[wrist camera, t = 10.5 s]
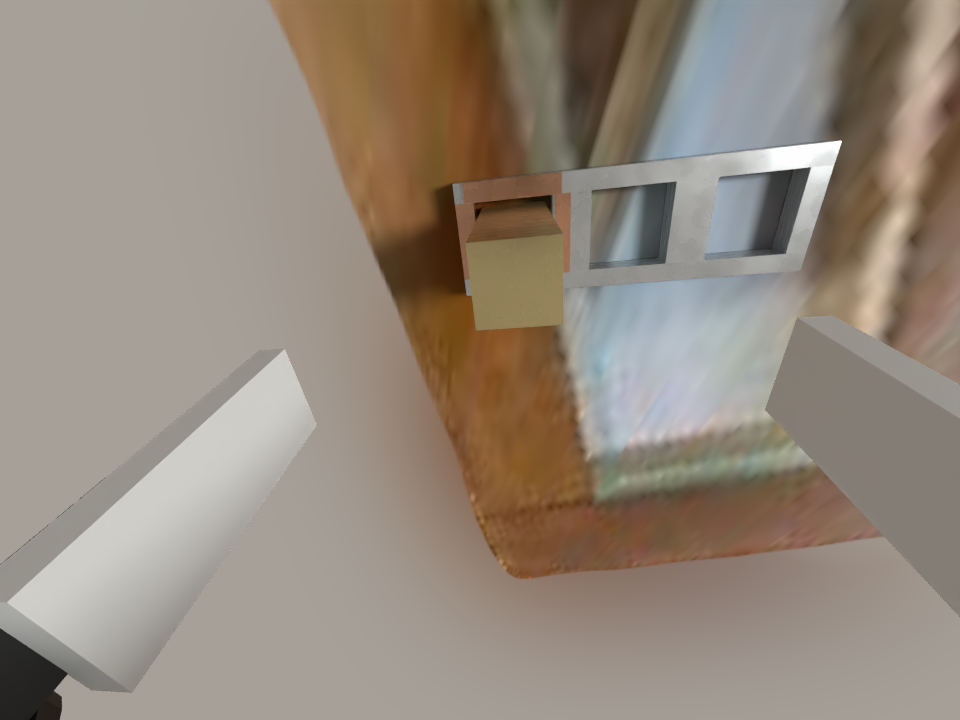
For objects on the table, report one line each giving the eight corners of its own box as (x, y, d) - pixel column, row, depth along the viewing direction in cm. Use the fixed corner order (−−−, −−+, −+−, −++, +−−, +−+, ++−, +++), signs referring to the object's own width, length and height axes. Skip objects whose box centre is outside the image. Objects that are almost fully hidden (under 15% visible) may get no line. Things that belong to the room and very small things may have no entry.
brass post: (482, 206, 27) (465, 243, 17) (543, 200, 27) (563, 234, 16) (488, 265, 29) (476, 330, 19) (544, 261, 29) (563, 324, 19)
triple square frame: (455, 182, 27) (452, 184, 25) (822, 141, 24) (844, 140, 22) (468, 289, 30) (466, 296, 29) (785, 264, 28) (802, 271, 26)
